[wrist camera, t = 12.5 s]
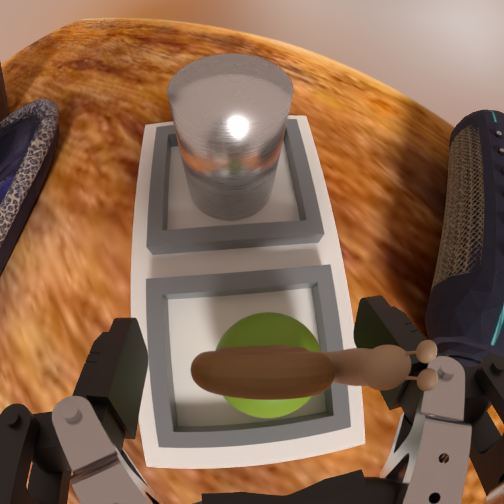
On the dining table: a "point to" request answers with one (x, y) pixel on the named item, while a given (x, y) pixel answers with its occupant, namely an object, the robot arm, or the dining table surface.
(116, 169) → the dining table surface
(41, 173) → the dish
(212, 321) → the compartment tray
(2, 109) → the plant pot
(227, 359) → the snail figurine
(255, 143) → the silver metal cylinder
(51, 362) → the dining table surface
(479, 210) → the portable speaker
